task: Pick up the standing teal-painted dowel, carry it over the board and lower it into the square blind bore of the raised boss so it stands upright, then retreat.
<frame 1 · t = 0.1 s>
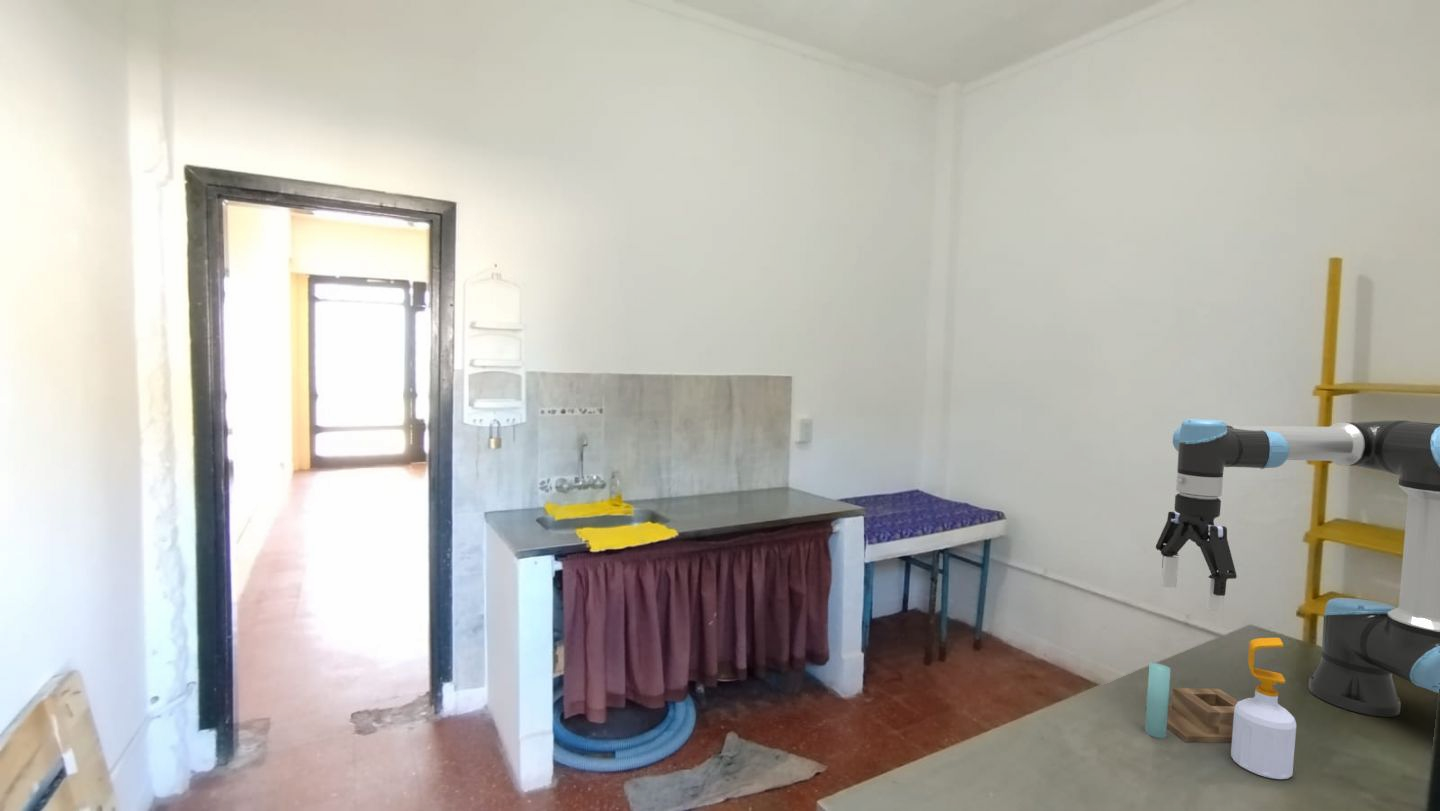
hand: (1190, 598, 135), 28 cm above the countertop, fingers open, 13 cm apart
peg: (1155, 733, 135), on the countertop
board: (1211, 726, 138), on the countertop
soap bottle: (1260, 766, 125), on the countertop
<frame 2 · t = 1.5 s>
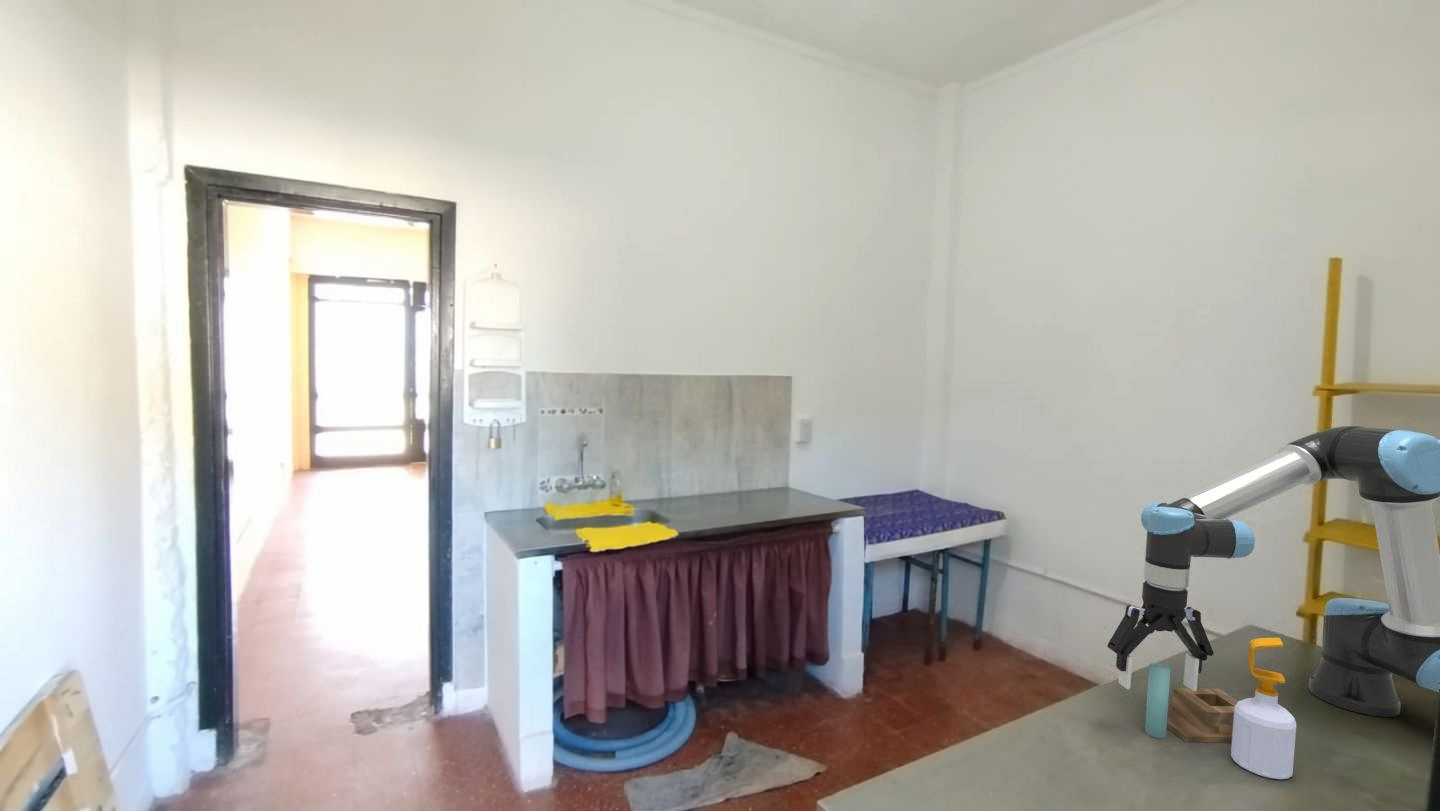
hand: (1157, 686, 134), 10 cm above the countertop, fingers open, 13 cm apart
nothing on the countertop moved.
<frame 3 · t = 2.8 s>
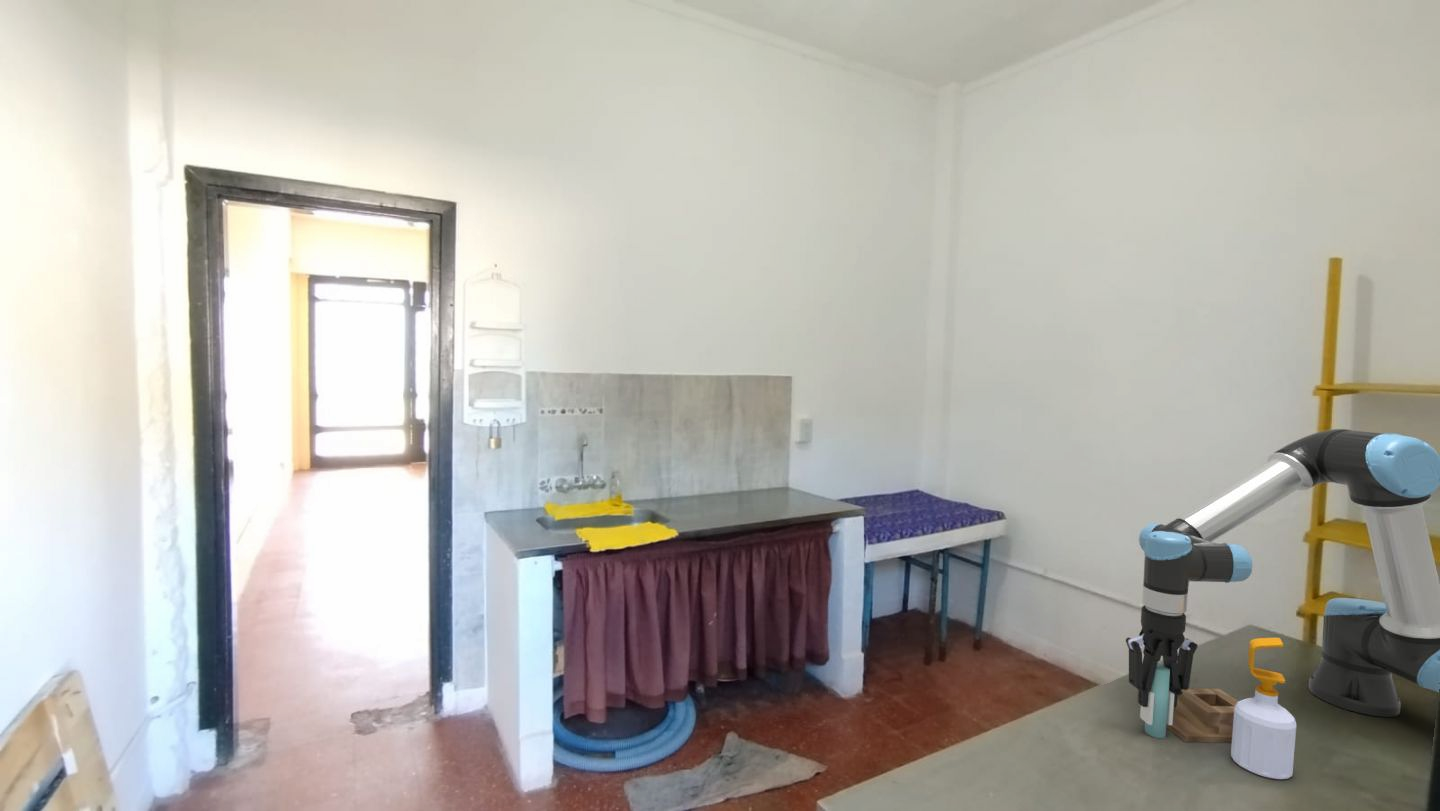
hand: (1156, 721, 135), 3 cm above the countertop, fingers closed on peg, 3 cm apart
peg: (1155, 733, 135), on the countertop, touching gripper
everything else where it was.
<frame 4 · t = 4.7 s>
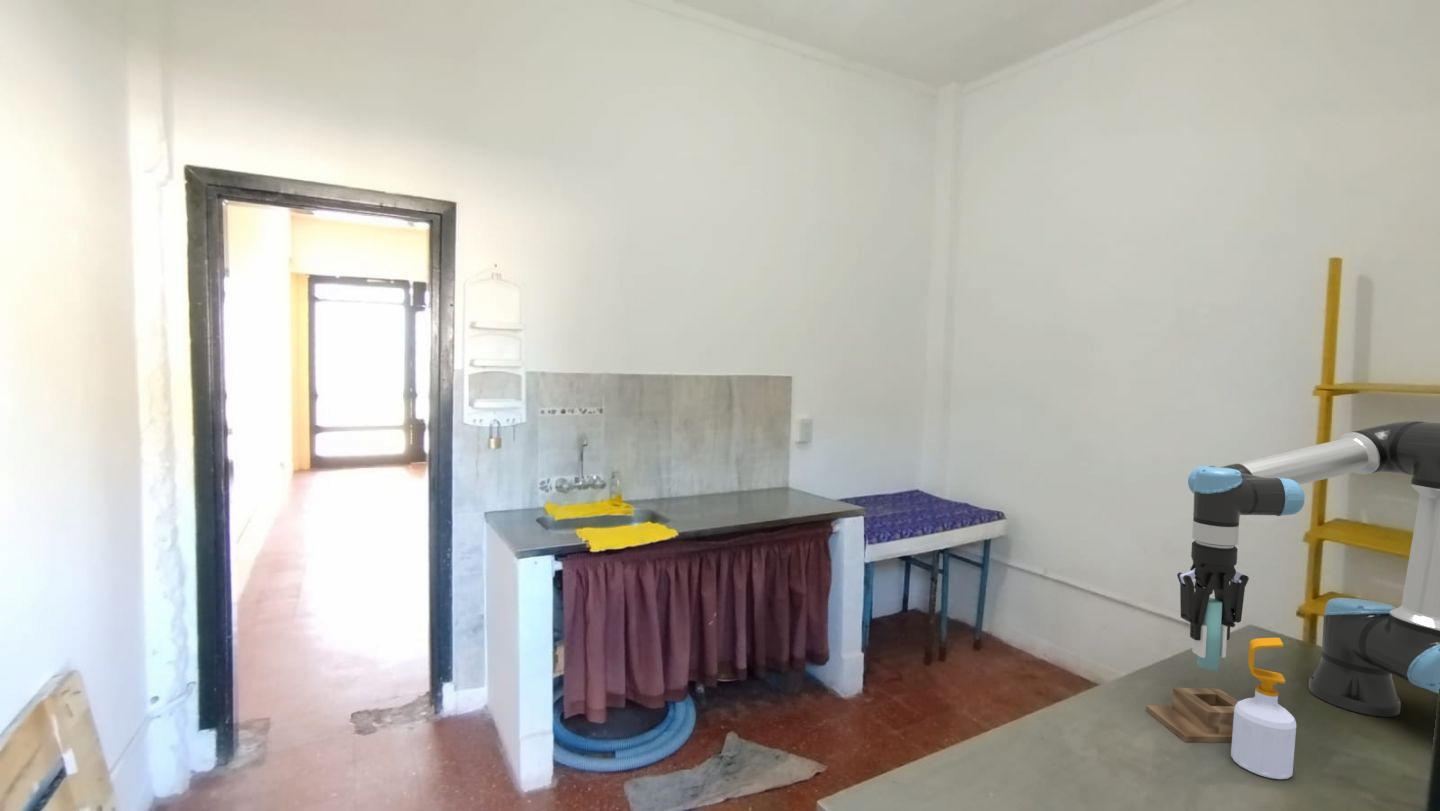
hand: (1208, 654, 137), 16 cm above the countertop, fingers closed on peg, 3 cm apart
peg: (1208, 666, 137), point 13 cm above the countertop, touching gripper
everything else where it was.
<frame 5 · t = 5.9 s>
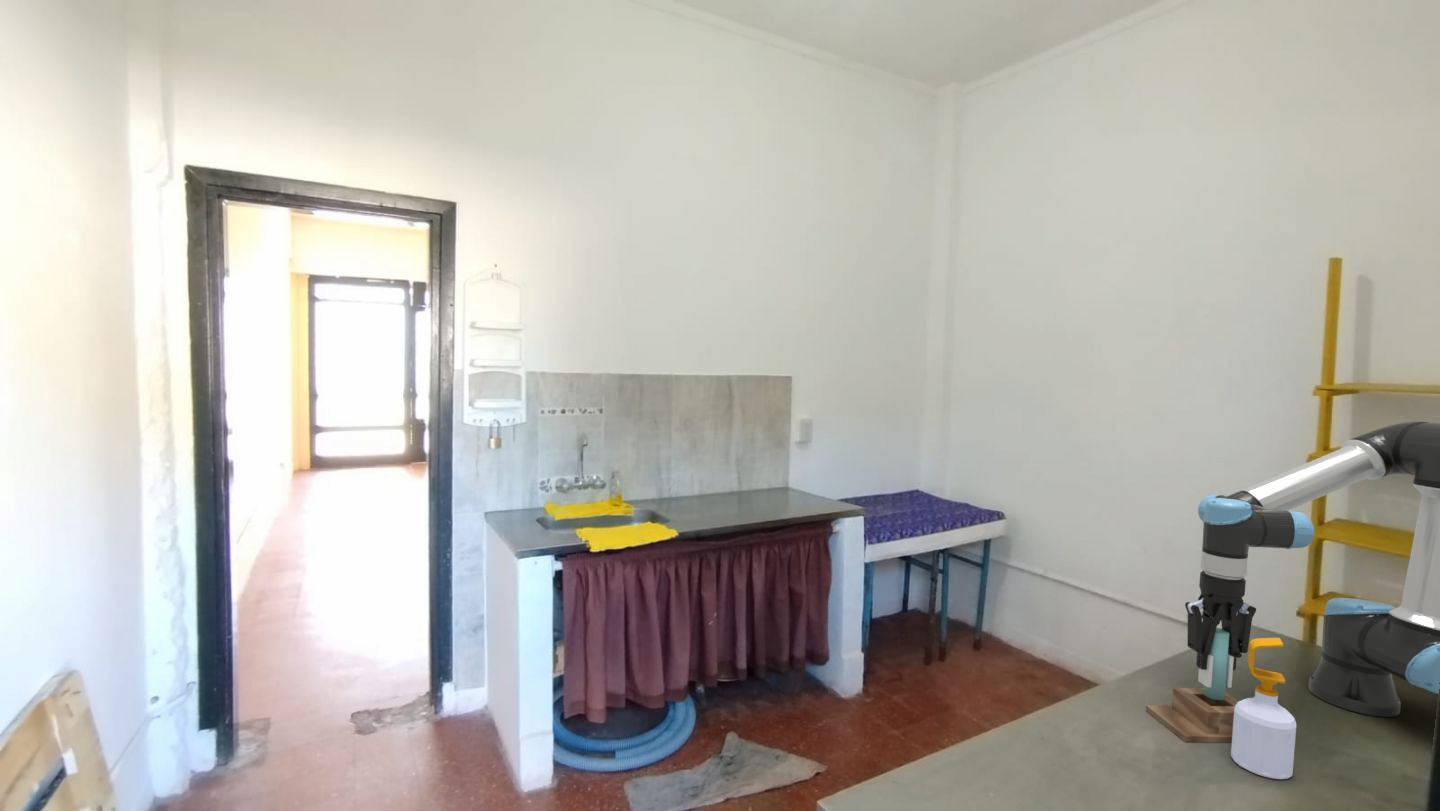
hand: (1214, 683, 138), 9 cm above the countertop, fingers closed on peg, 3 cm apart
peg: (1213, 695, 138), point 7 cm above the countertop, touching gripper
everything else where it was.
when the fingers open (6 cm above the countertop, at t = 6.7 s): peg drops 1 cm, resting on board.
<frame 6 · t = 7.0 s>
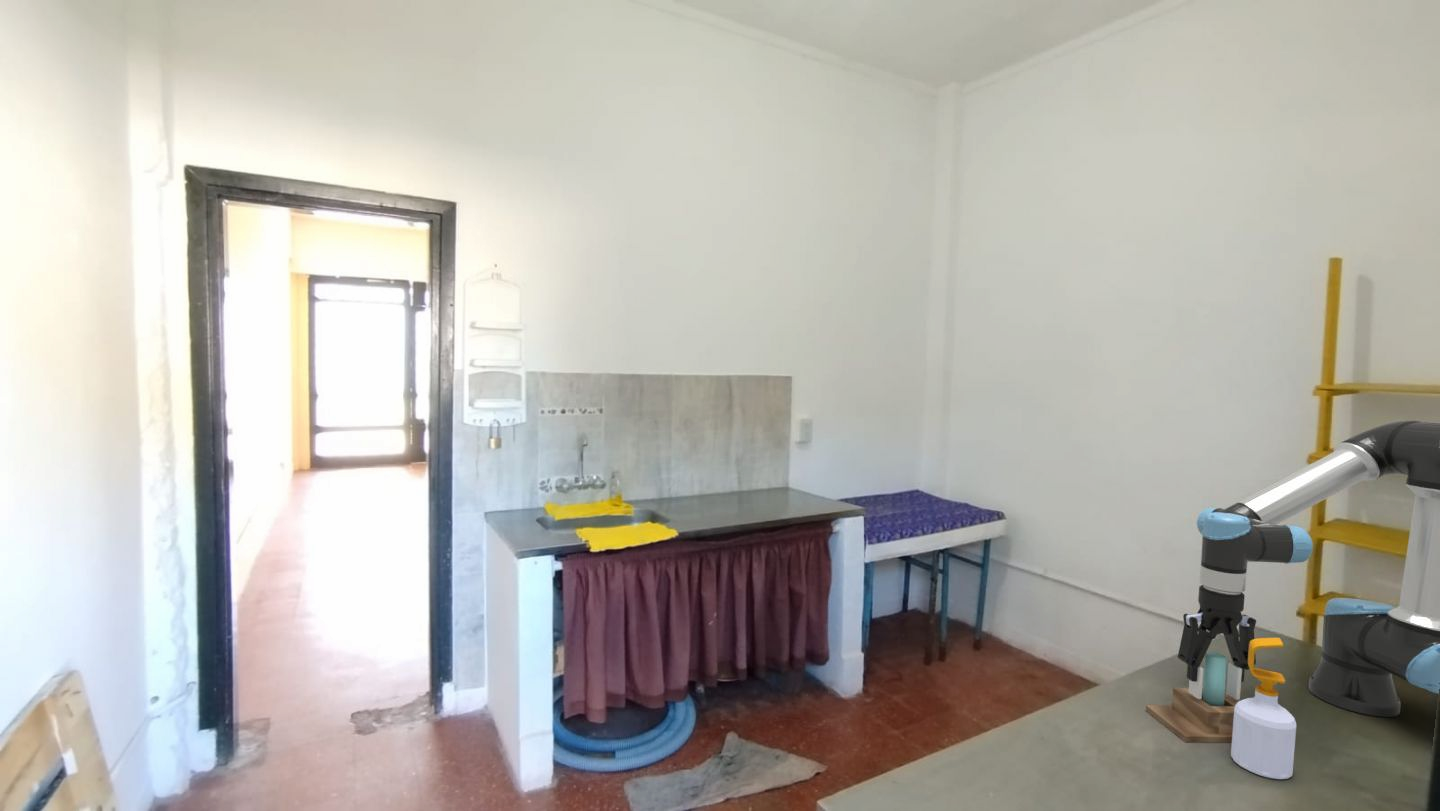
hand: (1213, 695, 138), 7 cm above the countertop, fingers open, 7 cm apart
peg: (1212, 720, 138), point 1 cm above the countertop, touching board
everything else where it was.
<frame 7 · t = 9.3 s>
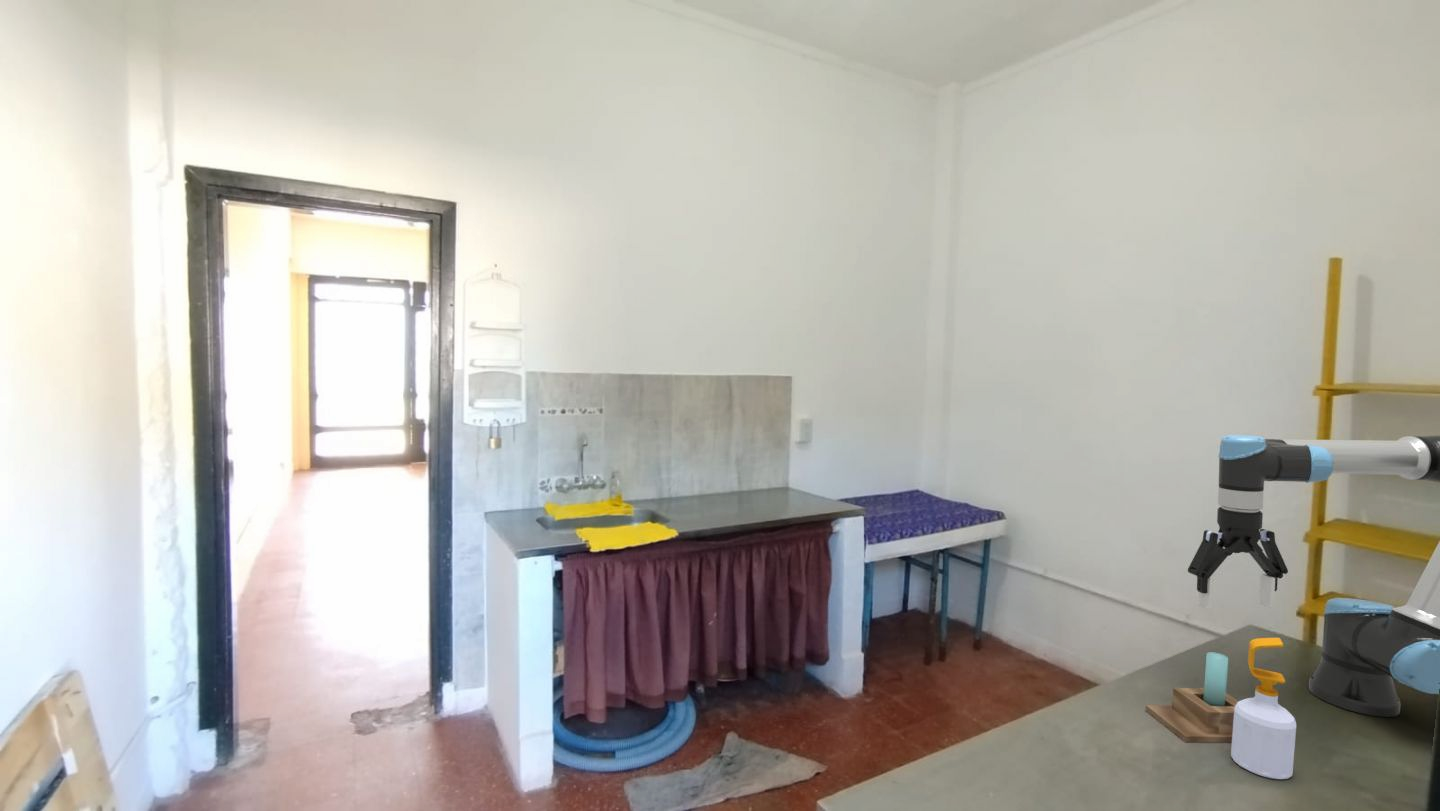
hand: (1236, 607, 141), 24 cm above the countertop, fingers open, 13 cm apart
nothing on the countertop moved.
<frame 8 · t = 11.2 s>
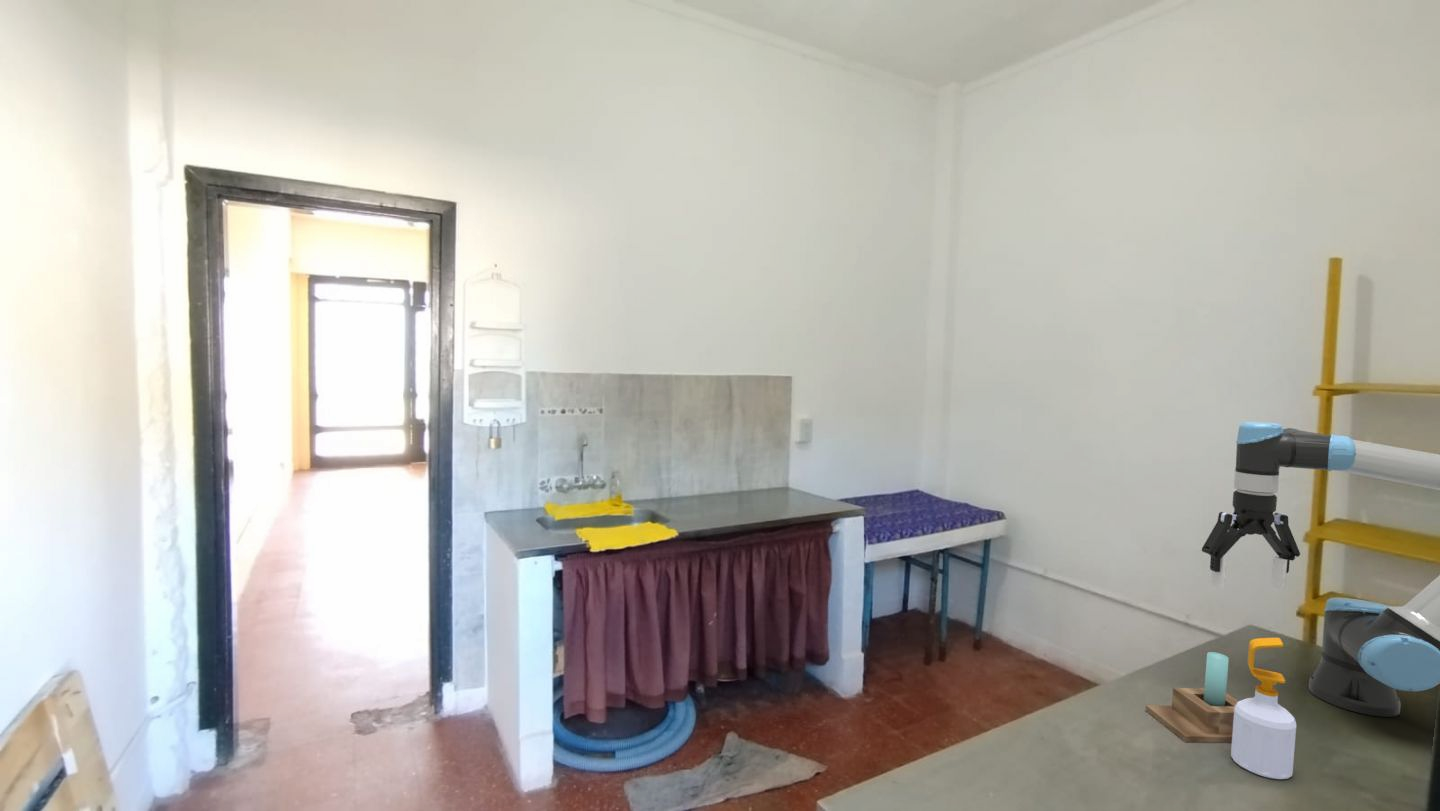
hand: (1247, 586, 147), 27 cm above the countertop, fingers open, 13 cm apart
nothing on the countertop moved.
at the end: peg 0.1 cm off-centre on the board, point 1.2 cm above the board's base; peg tilted 0°; the gripper is holding nothing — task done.
